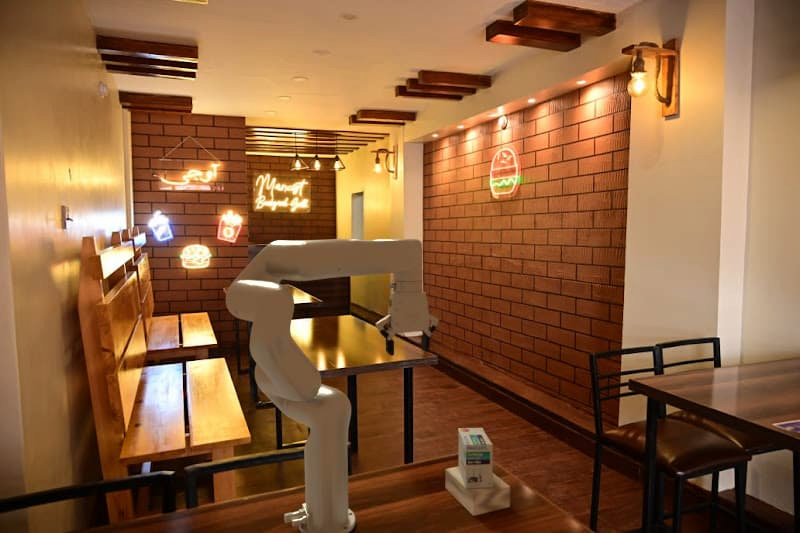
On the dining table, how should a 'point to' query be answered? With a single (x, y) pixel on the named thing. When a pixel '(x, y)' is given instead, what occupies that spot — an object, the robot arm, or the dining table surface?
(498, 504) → the ash block
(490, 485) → the light bulb box
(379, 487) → the dining table surface
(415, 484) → the dining table surface
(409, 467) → the dining table surface
